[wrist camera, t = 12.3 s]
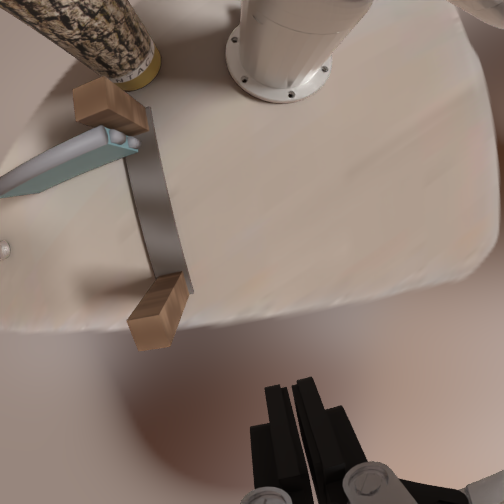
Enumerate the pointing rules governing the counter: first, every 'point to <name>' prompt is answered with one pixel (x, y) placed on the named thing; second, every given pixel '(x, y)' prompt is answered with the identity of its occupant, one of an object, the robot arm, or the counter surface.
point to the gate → (68, 161)
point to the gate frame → (144, 210)
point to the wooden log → (95, 36)
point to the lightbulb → (4, 250)
